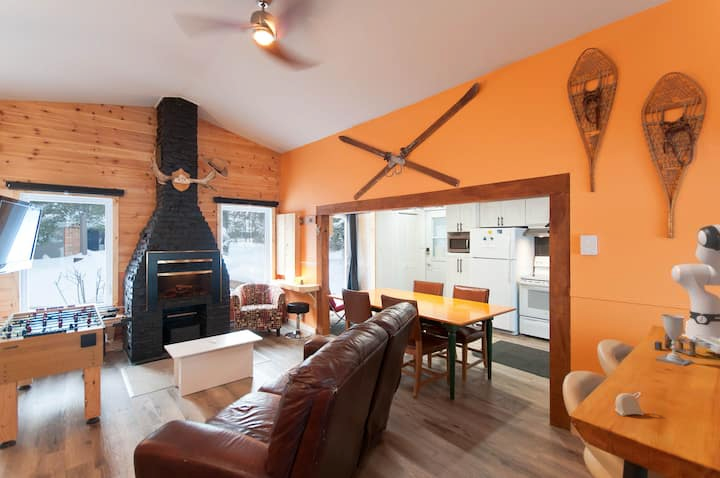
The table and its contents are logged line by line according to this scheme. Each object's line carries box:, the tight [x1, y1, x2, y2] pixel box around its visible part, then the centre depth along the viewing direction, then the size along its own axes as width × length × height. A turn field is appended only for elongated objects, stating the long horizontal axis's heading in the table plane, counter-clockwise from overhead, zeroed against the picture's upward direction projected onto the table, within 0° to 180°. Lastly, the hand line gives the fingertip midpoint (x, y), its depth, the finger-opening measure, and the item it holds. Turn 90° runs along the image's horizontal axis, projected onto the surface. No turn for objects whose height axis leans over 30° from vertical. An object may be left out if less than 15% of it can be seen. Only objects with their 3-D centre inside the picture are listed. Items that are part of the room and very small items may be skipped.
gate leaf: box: [664, 333, 697, 357], centre depth 153 cm, size 14×2×6 cm, turn 179°
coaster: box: [655, 354, 694, 367], centre depth 142 cm, size 9×9×1 cm
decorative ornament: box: [614, 391, 645, 417], centre depth 97 cm, size 4×8×5 cm, turn 93°
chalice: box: [661, 313, 686, 361], centre depth 142 cm, size 7×7×18 cm
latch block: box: [654, 340, 663, 351], centre depth 158 cm, size 3×2×4 cm, turn 120°
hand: (690, 342), depth 150 cm, fingers closed
